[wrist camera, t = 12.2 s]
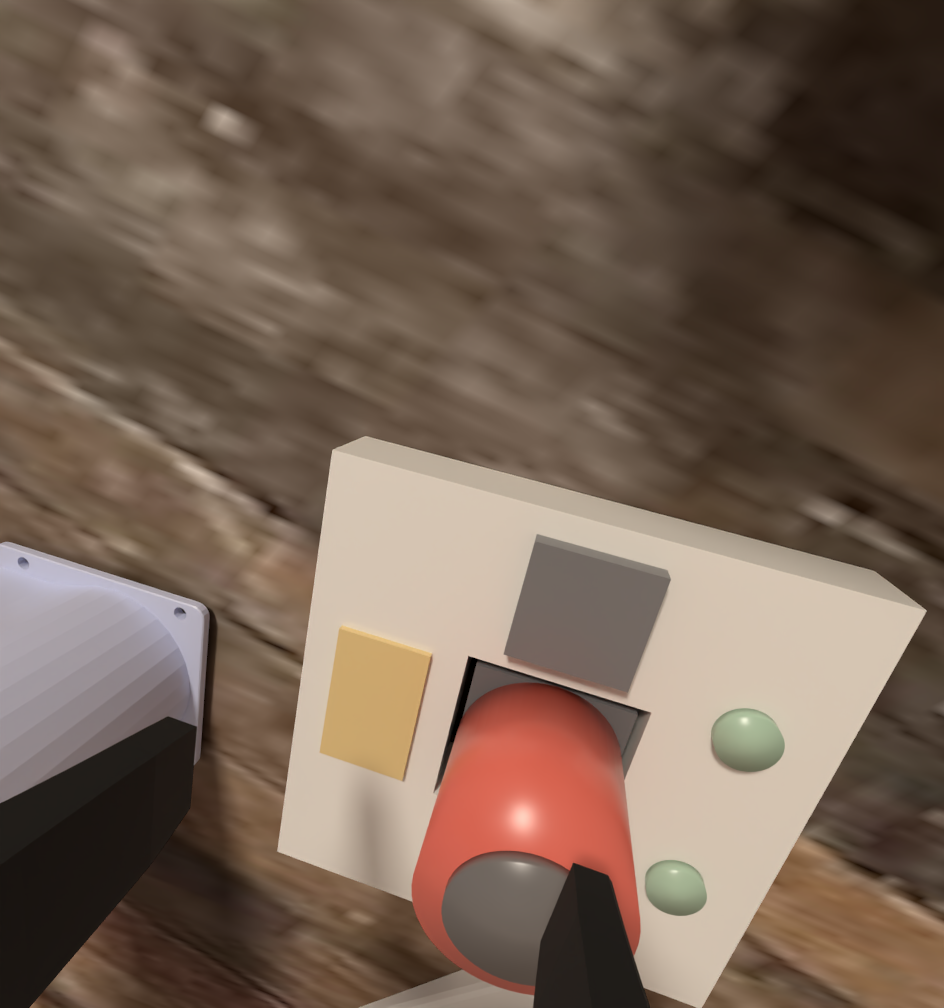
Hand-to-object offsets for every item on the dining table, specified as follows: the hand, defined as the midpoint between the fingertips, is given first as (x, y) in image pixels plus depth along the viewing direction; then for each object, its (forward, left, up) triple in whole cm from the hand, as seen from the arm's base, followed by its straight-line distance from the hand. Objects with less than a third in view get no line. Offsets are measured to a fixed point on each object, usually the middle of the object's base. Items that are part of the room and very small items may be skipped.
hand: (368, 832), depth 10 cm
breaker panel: (+3, -3, -9) cm, 11 cm away
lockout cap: (+3, -3, -7) cm, 8 cm away
